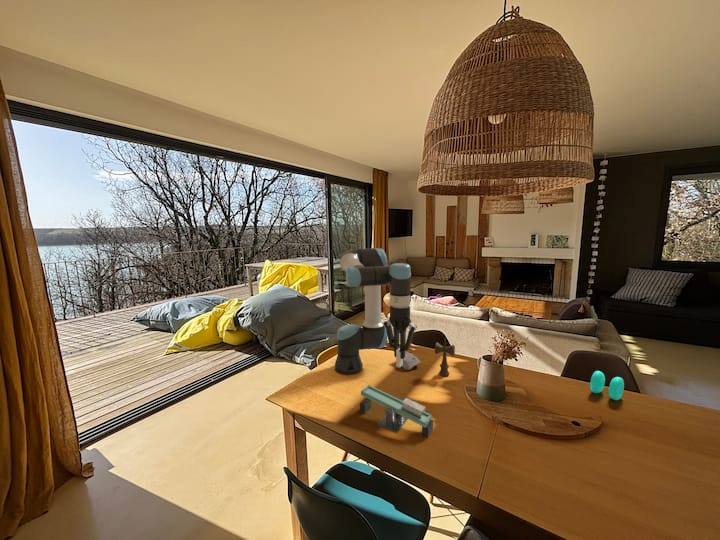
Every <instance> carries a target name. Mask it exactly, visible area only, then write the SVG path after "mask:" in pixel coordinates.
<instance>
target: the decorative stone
mask: <svg viewBox="0 0 720 540" xmlns="http://www.w3.org/2000/svg"><path fill="white" fill-rule="evenodd" d="M421 362H422V361H420V360H419V358H418V357H417V356H415V355H414V354H413V353H410V352H409V351H405V358H404V359H403V365H402V366H401V367H402V368H403V370H404V371H405V370H407V371H411V370H412V369H413V368H414V367H416V366H417V365H419V364H421Z"/></svg>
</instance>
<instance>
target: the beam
mask: <svg viewBox="0 0 720 540" xmlns="http://www.w3.org/2000/svg"><path fill="white" fill-rule="evenodd" d="M360 396H363V397H364V398H368V399H370V400H371V402H372V401H373V402H374V403H376V404H378V405H380V406H381V407H384V408H389V409H392V410H394V412H395V413H397V414H399V415H401V416H403V417H405V418H407V420H409V421H411V422H413V423H415V424H417V425H420V426H421V427H422V426H423V427H425V428H426V426H427V425H428V423H429V421H430V420H432V416H433V414H431V413H429V412H426V411H425V413H424V416H423V417H422V419H419V418H417V417H415V416H413V415H411V414H409V413H407V412H405V411H403V410H401V408H402V402H403V401H404V400H403V401H401V400H399V399H397V398H398V397H397V398H396V397H395V396H393V395H391V394H390V393H387V392H385V391H383V390H380V389H378V388H376V387H374V386H372V385H370V384H368V385H366V386H365V387H364V388H363V389H362V390H361V391H360Z"/></svg>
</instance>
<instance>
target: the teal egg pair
mask: <svg viewBox="0 0 720 540" xmlns="http://www.w3.org/2000/svg"><path fill="white" fill-rule="evenodd" d="M605 383H606V376H605V374H604V373H603V372H602V371H600V370H595V371H594V372H593V374H592V375H591V378H590V386H589V387H590V390H591V392H592V393H594V394H600V393H601V392H602V391H603V390H604V387H605ZM624 389H625V381H624V379H623V377H620V376H615V377H613V378H612V379H611V381H610V383H609V387H608V394H609V397H610V398H611V399H612V400H614V401H620V399H621V398H622V396H623V393H624Z"/></svg>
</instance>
